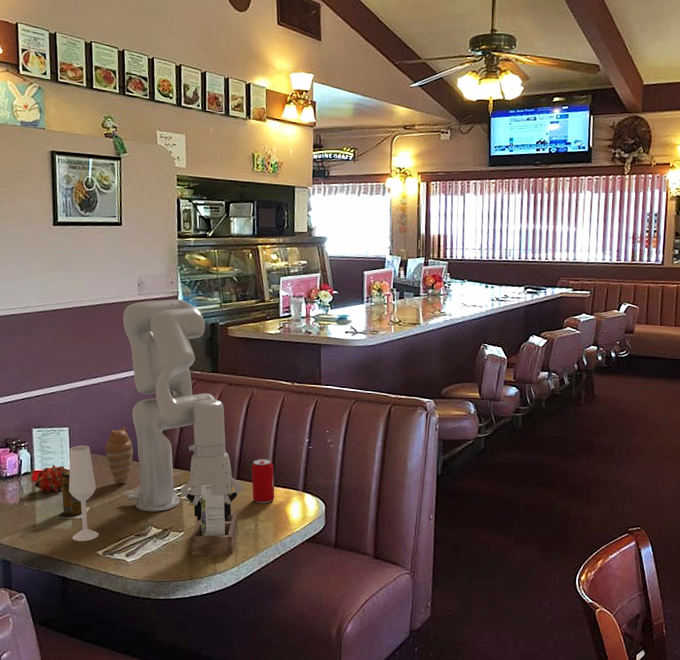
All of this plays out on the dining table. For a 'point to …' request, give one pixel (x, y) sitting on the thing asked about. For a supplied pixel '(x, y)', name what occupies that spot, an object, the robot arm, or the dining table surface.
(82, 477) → the champagne flute
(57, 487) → the dragon fruit
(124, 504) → the dining table surface
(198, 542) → the caddy
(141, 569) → the dining table surface
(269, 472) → the beverage can
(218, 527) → the syrup box
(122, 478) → the cat ice cream
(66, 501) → the condiment
